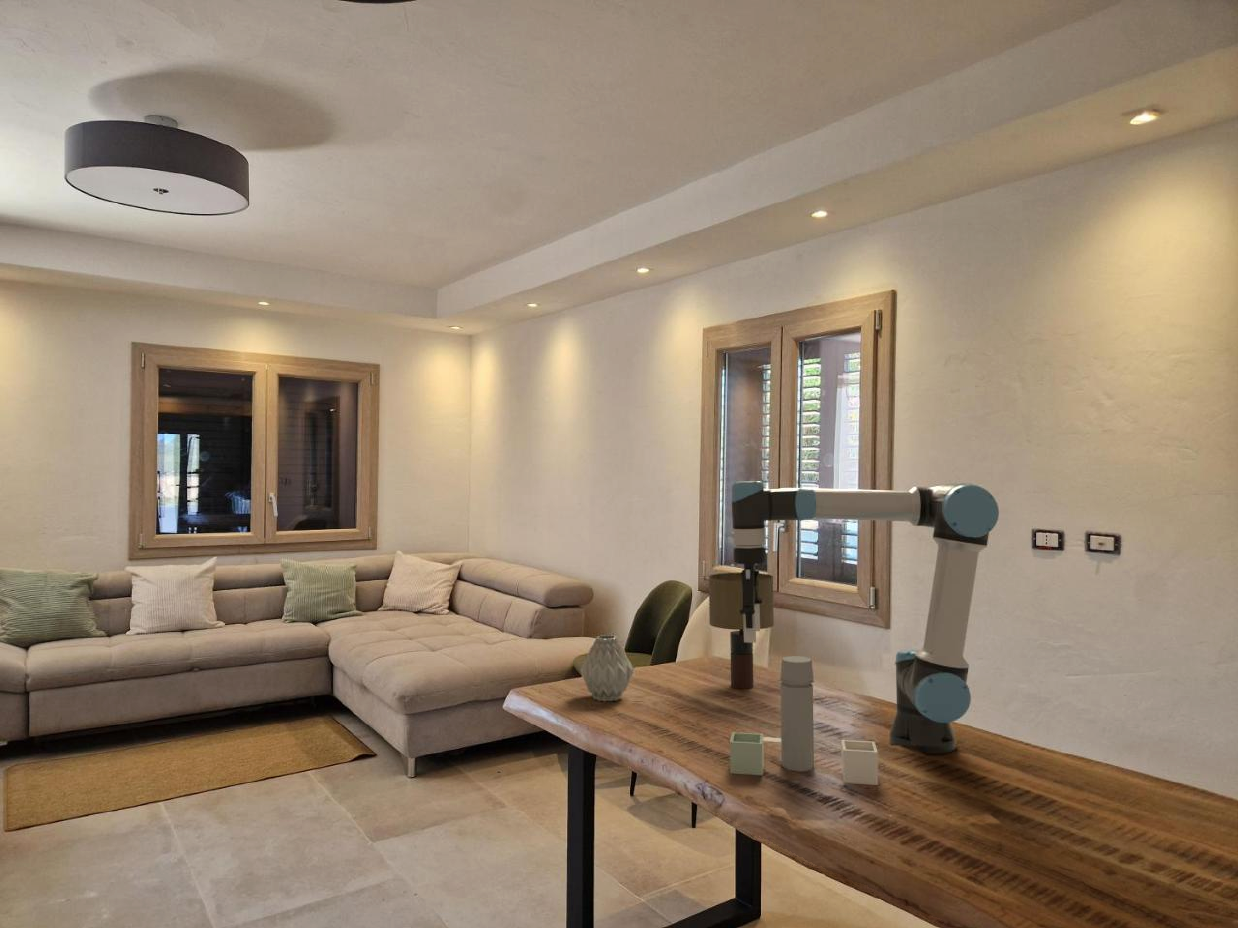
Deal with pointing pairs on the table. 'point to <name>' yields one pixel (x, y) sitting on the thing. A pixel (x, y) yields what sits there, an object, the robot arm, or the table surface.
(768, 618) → the lamp
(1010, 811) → the table surface
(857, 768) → the cream open box
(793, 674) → the water bottle
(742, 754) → the sage open box
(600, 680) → the vase
